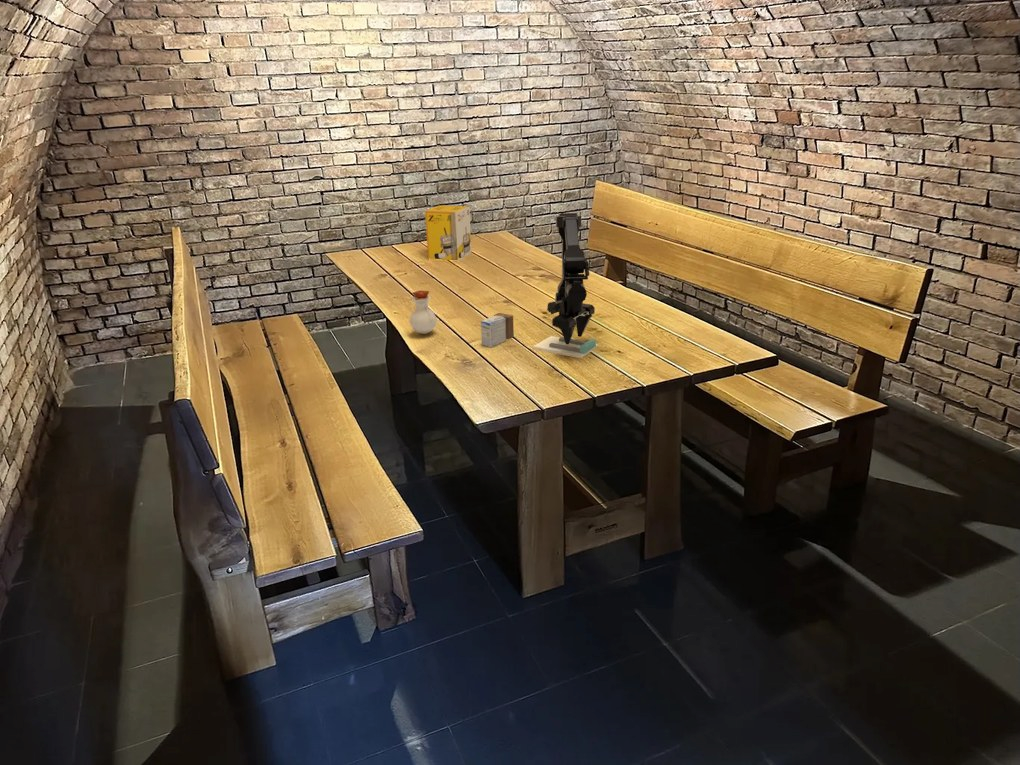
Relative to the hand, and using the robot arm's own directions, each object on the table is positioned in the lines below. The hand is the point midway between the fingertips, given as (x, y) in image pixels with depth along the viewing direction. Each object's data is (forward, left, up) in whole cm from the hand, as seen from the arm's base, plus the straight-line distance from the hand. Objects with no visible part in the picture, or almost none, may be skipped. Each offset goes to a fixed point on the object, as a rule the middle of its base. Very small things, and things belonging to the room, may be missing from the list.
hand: (573, 340), depth 239 cm
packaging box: (-85, -115, -4) cm, 143 cm away
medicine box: (+7, -27, -4) cm, 28 cm away
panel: (0, -30, 0) cm, 30 cm away
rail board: (0, -3, -4) cm, 5 cm away
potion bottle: (+11, -54, -4) cm, 56 cm away
